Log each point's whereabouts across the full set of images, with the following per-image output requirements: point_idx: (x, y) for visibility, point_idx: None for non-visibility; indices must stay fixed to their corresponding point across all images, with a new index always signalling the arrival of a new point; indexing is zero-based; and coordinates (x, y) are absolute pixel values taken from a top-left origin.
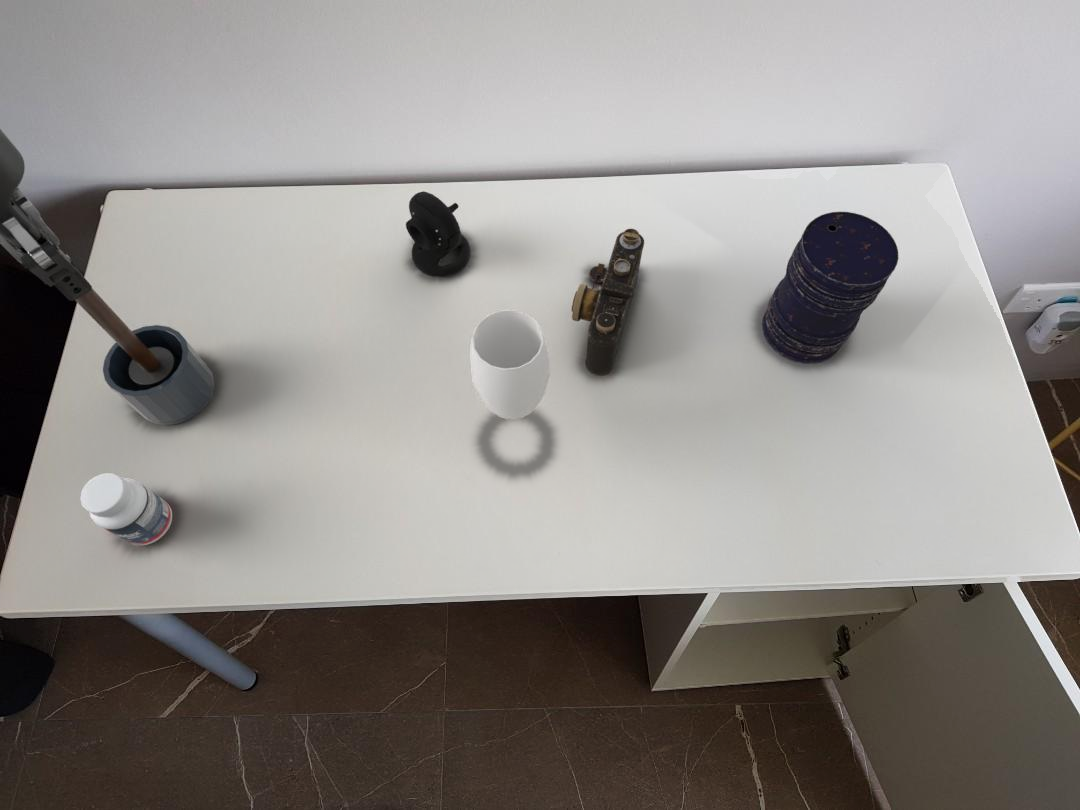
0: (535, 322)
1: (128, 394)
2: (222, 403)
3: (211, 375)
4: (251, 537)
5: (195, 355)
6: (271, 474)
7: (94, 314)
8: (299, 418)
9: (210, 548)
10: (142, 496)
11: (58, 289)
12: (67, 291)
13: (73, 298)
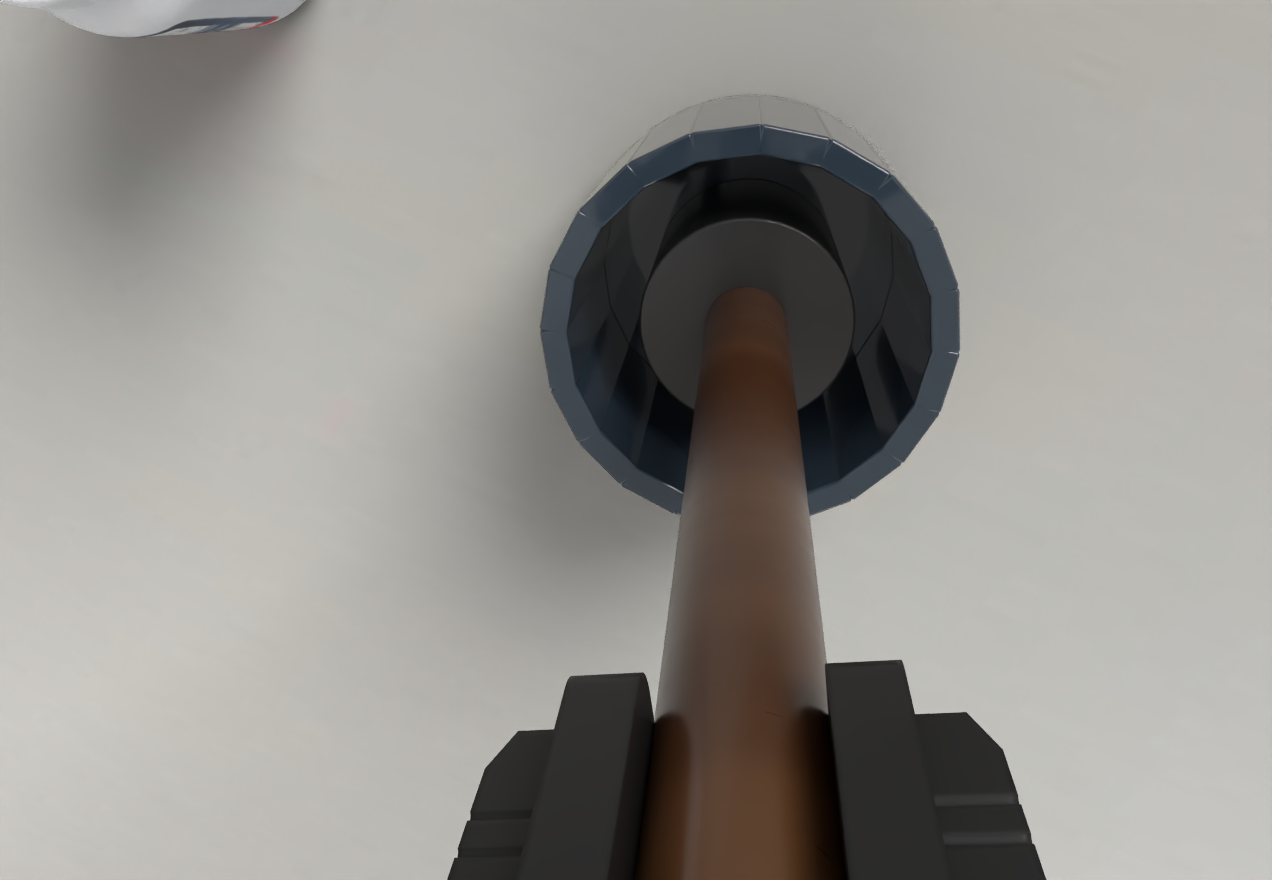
0: None
1: (600, 194)
2: None
3: None
4: (18, 227)
5: None
6: (216, 389)
7: (680, 543)
8: (373, 555)
9: (33, 86)
10: (64, 19)
11: (540, 793)
12: (462, 840)
13: (506, 744)
